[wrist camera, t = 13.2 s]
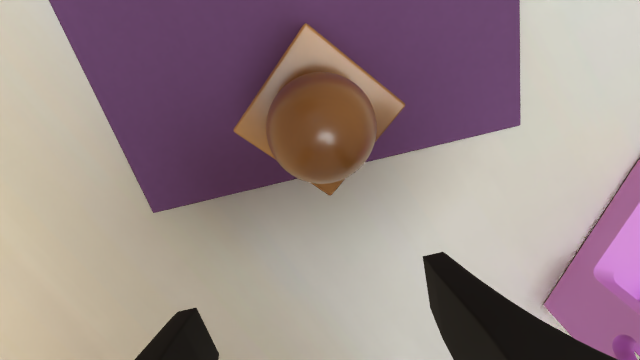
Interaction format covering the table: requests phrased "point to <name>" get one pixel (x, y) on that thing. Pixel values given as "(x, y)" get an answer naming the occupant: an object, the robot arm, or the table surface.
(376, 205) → the table surface
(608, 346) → the bracket
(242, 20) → the felt cloth
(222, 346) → the table surface
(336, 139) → the wooden knob on block
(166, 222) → the table surface
